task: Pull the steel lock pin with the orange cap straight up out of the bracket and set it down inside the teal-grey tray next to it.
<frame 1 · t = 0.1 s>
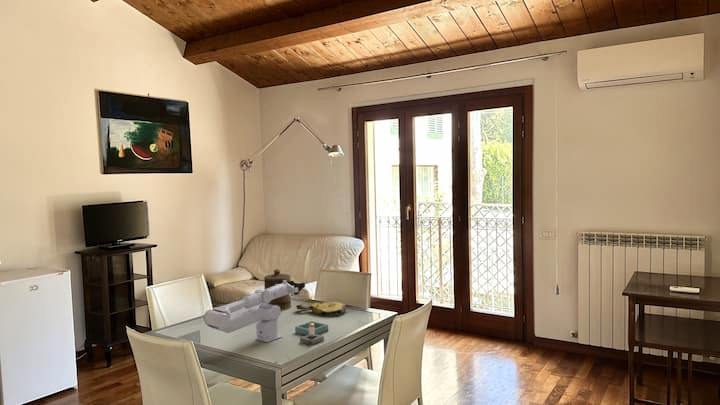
hand: (299, 283, 240), 22 cm above the table, tool horizontal, fingers open, 7 cm apart
tray: (311, 331, 233), on the table
pulley block: (322, 313, 267), on the table
pin bracket: (312, 341, 219), on the table
wooden container: (278, 307, 281), on the table
lock pin: (311, 332, 219), in the pin bracket
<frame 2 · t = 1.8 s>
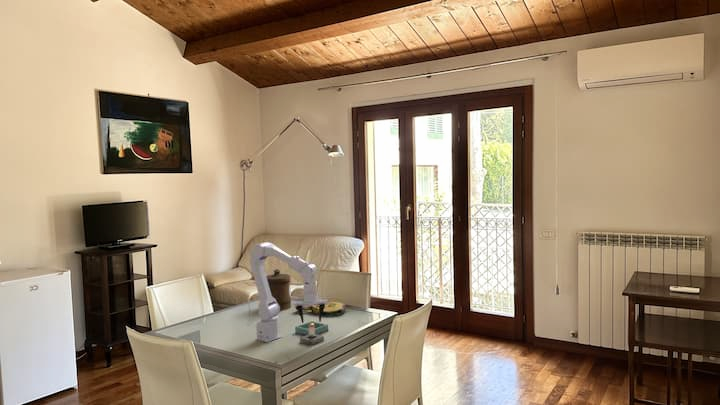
hand: (311, 321, 218), 9 cm above the table, tool pointing down, fingers open, 7 cm apart
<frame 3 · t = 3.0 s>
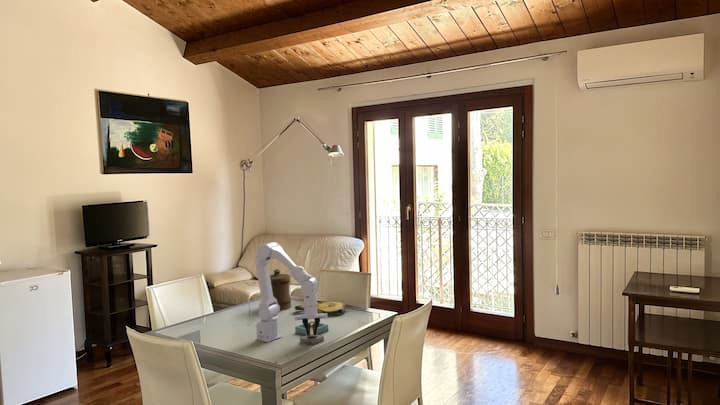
hand: (311, 335, 219), 3 cm above the table, tool pointing down, fingers closed on lock pin, 3 cm apart
lock pin: (311, 332, 219), in the pin bracket, touching gripper
everything else where it was.
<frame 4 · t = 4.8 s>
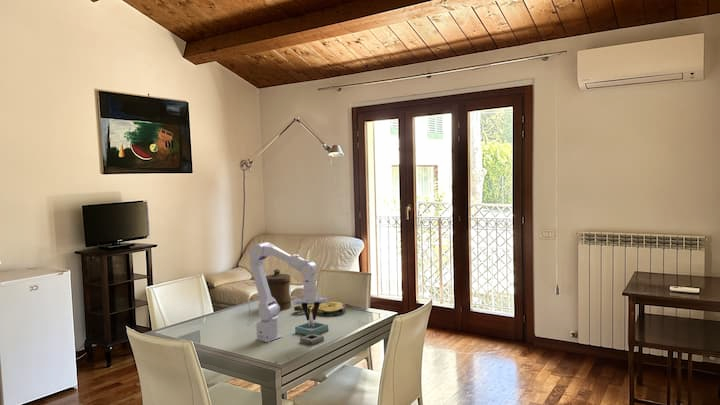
hand: (311, 319, 219), 10 cm above the table, tool pointing down, fingers closed on lock pin, 3 cm apart
lock pin: (311, 317, 218), point 11 cm above the table, touching gripper
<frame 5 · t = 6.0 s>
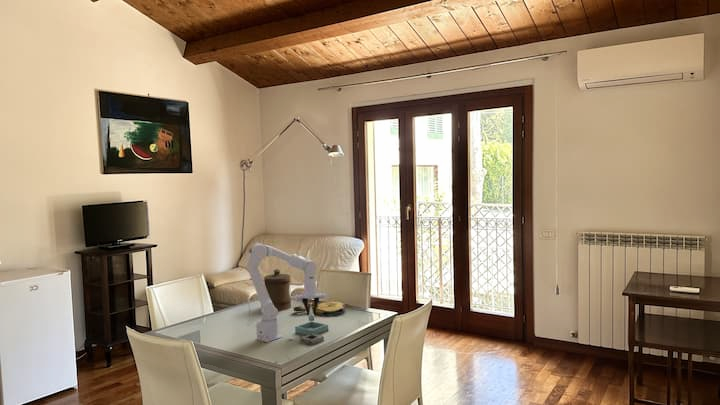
hand: (311, 314, 232), 9 cm above the table, tool pointing down, fingers closed on lock pin, 3 cm apart
lock pin: (311, 311, 232), point 10 cm above the table, touching gripper
when the fingers open (5 cm above the table, at t = 6.8 s): lock pin drops 2 cm, resting on tray.
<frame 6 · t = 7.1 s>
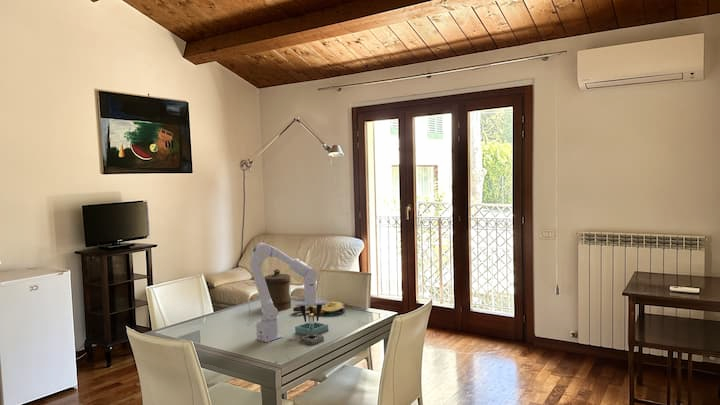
hand: (311, 321, 233), 5 cm above the table, tool pointing down, fingers open, 5 cm apart
lock pin: (311, 322, 232), in the tray, point 5 cm above the table
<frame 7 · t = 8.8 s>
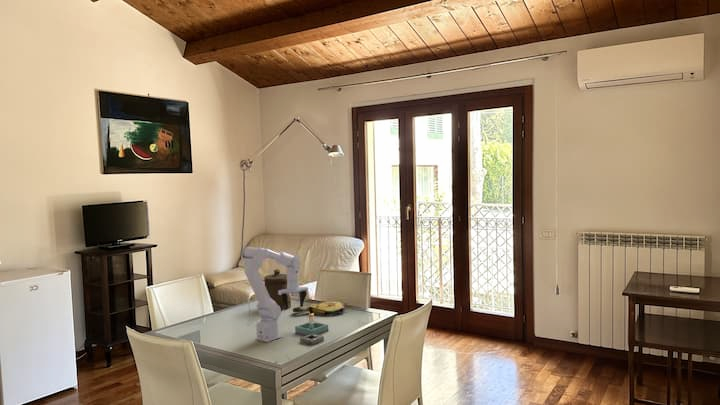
hand: (294, 307, 239), 10 cm above the table, tool pointing down, fingers open, 7 cm apart
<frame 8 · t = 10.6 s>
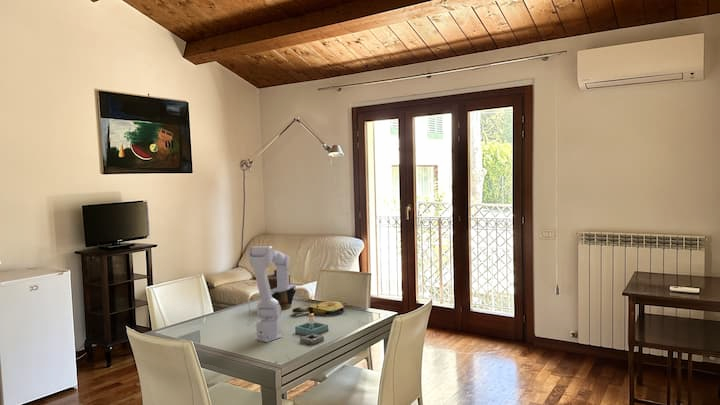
hand: (283, 305, 243), 10 cm above the table, tool pointing down, fingers open, 7 cm apart
at the end: lock pin inside the target area on the tray (0.0 cm from its centre), point 4.6 cm above the tray's base; the gripper is holding nothing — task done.
